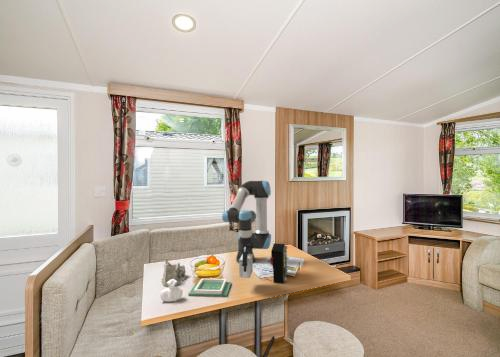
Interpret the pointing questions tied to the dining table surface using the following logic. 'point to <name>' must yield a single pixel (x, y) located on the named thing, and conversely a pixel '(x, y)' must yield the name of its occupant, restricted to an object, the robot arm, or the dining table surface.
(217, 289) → the board
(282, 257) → the electrical component
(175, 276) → the ceramic cottage
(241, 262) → the light bulb box
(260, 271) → the dining table surface
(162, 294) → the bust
